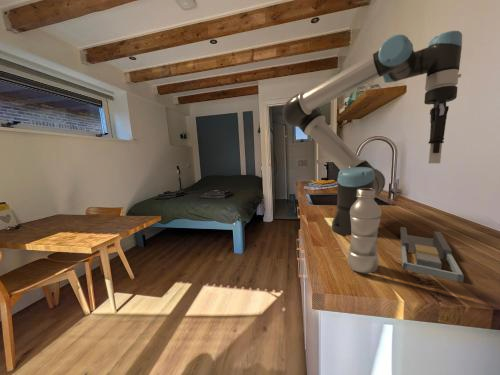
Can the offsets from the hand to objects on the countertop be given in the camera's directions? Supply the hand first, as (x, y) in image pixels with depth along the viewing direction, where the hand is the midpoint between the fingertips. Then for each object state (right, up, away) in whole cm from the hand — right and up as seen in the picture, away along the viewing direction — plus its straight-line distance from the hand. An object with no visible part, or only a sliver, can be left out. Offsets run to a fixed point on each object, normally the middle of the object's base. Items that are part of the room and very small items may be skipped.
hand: (434, 163), depth 67 cm
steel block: (-19, -27, -18) cm, 38 cm away
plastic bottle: (-34, -29, -18) cm, 48 cm away
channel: (-11, -26, -7) cm, 29 cm away
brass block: (-16, -27, -15) cm, 35 cm away
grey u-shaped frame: (-18, -28, -18) cm, 38 cm away
